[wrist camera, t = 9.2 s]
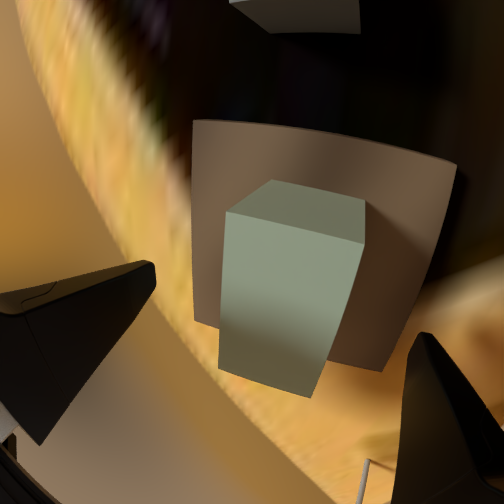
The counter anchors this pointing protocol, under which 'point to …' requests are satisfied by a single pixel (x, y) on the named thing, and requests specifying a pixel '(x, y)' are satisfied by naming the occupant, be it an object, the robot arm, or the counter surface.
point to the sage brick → (287, 282)
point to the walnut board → (337, 181)
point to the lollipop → (363, 481)
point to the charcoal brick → (303, 15)
